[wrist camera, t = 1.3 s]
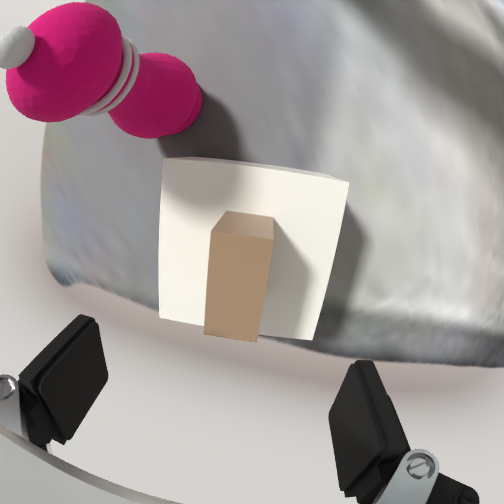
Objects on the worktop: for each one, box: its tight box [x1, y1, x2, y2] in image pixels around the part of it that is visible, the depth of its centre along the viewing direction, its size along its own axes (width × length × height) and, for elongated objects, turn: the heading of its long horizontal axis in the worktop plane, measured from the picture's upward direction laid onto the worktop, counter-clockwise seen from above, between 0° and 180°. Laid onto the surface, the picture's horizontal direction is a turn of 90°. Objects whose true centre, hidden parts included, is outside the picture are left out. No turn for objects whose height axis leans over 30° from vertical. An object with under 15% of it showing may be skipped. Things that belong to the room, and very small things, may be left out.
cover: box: [159, 157, 349, 342], centre depth 21 cm, size 12×12×13 cm
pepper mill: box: [0, 2, 202, 139], centre depth 14 cm, size 7×7×20 cm
